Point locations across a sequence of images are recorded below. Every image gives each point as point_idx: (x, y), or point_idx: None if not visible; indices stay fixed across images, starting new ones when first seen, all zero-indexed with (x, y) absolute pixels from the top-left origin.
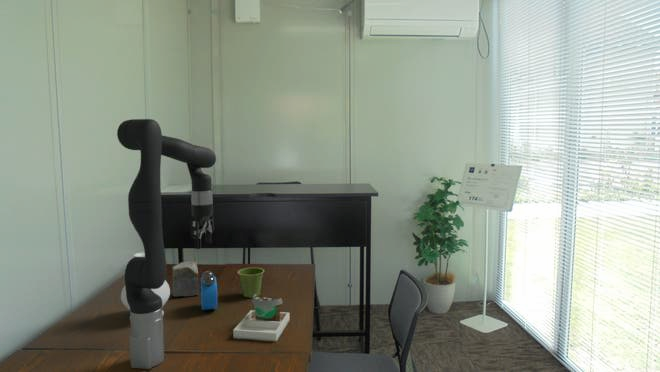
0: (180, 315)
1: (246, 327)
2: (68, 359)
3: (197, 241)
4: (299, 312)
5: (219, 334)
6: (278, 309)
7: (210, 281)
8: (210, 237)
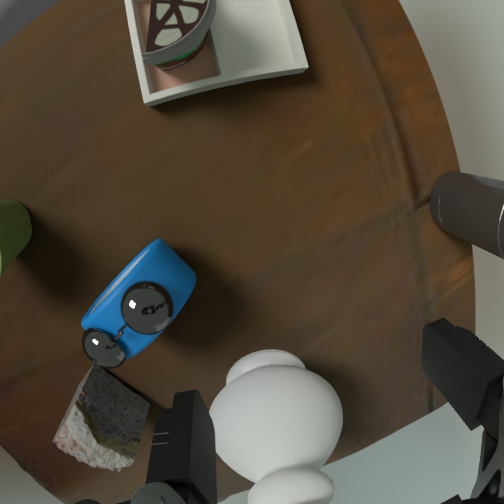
0: (228, 316)
1: (233, 68)
2: None
3: (498, 365)
4: (70, 14)
5: (296, 123)
6: None
7: (155, 289)
8: (188, 438)
